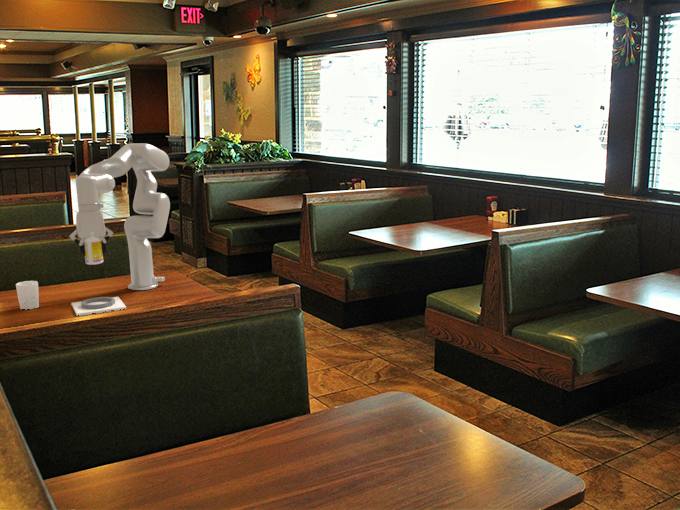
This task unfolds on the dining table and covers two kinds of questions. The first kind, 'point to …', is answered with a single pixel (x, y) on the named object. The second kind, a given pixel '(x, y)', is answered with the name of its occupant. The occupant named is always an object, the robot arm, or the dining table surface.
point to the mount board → (98, 305)
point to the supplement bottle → (93, 250)
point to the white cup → (28, 294)
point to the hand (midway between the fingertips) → (93, 253)
